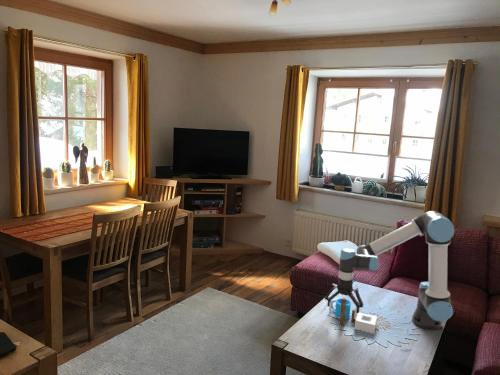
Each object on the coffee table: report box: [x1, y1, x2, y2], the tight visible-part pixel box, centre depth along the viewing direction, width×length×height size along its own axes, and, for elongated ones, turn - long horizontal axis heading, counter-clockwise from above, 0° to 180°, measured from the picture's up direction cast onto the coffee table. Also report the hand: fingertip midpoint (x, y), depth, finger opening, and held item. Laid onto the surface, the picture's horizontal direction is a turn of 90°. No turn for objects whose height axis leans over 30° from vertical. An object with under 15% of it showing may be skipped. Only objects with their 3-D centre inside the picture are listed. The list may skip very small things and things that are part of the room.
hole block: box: [354, 312, 378, 334], centre depth 214 cm, size 10×10×5 cm
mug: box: [331, 298, 352, 320], centre depth 227 cm, size 12×8×8 cm
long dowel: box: [338, 297, 347, 327], centre depth 215 cm, size 3×3×15 cm
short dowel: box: [350, 309, 356, 323], centre depth 221 cm, size 3×3×6 cm
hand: (342, 315), depth 215 cm, fingers open, 13 cm apart
